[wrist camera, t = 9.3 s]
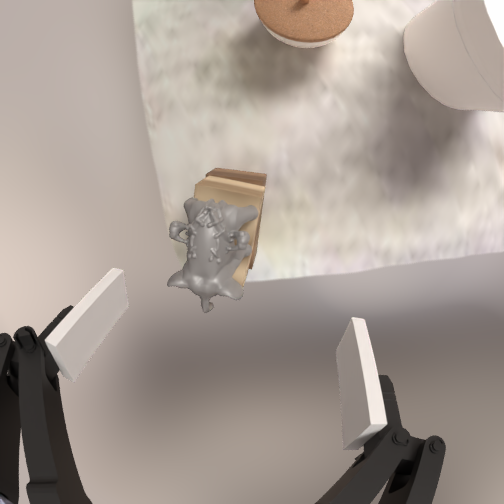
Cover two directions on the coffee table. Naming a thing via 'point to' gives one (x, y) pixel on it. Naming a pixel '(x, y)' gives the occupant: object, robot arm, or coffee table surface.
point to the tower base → (247, 178)
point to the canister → (459, 53)
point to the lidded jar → (305, 20)
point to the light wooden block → (237, 196)
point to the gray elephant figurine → (212, 248)
